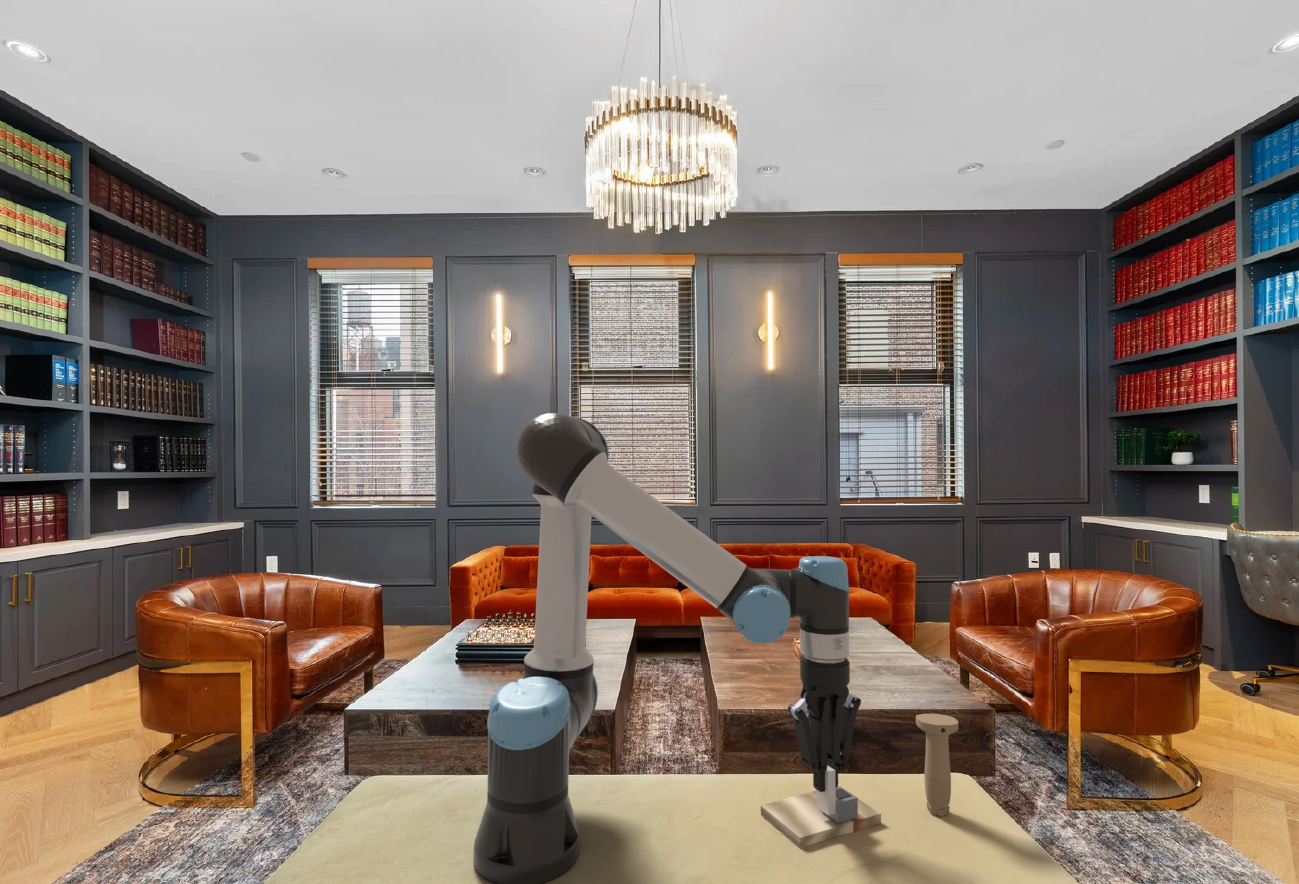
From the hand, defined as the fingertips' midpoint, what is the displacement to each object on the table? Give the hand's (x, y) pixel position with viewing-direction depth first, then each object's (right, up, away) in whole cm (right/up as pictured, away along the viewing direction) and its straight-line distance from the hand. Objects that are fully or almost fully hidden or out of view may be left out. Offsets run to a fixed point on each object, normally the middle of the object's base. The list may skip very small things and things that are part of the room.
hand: (826, 809), depth 98 cm
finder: (+2, -1, +1) cm, 3 cm away
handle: (+20, -4, +5) cm, 21 cm away
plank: (0, -3, +3) cm, 4 cm away
